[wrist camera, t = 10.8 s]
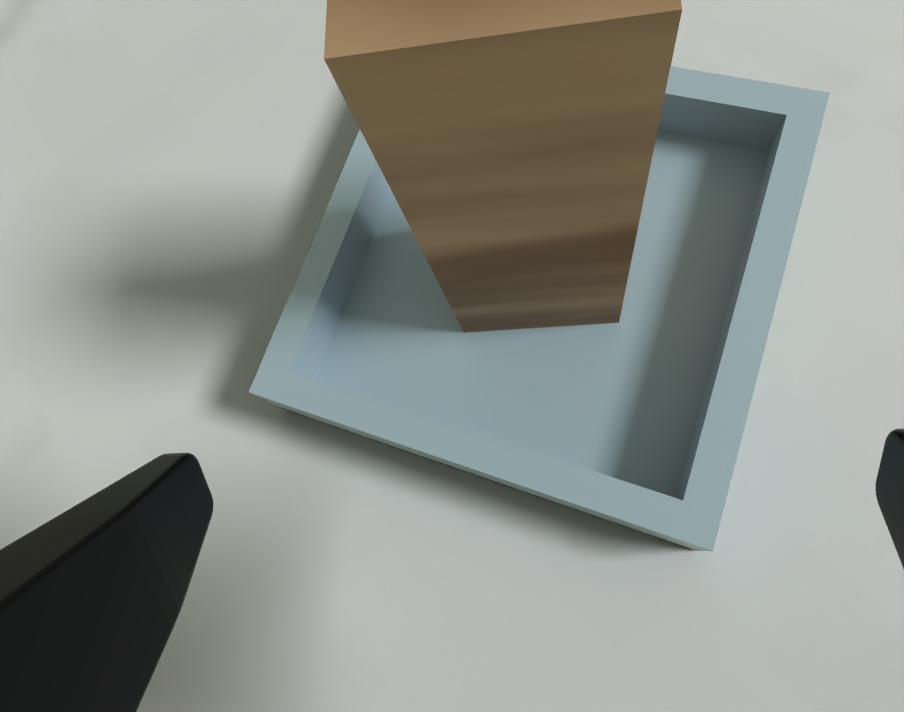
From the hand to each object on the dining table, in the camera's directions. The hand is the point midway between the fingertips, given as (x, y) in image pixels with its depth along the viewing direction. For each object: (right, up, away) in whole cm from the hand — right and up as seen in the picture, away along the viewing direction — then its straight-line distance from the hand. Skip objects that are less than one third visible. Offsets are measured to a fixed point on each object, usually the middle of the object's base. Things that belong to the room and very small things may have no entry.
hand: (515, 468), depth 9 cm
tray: (+2, +4, +14) cm, 15 cm away
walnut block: (+2, +4, +13) cm, 14 cm away
